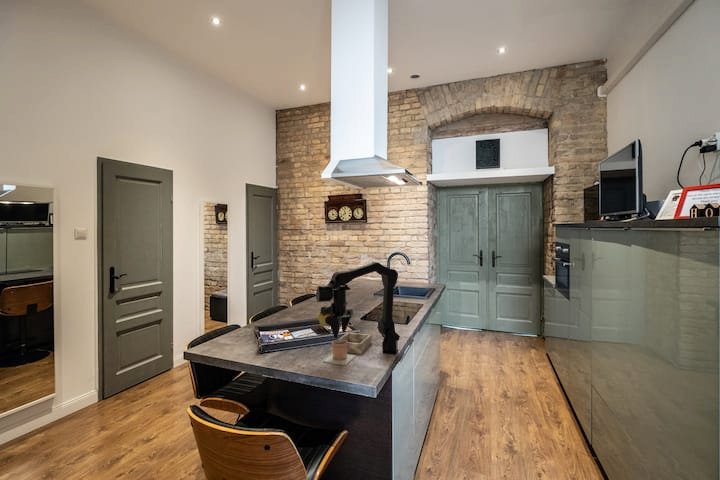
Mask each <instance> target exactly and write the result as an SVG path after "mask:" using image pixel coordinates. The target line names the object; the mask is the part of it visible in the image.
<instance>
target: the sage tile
mask: <svg viewBox="0 0 720 480" xmlns="http://www.w3.org/2000/svg"><path fill="white" fill-rule="evenodd" d="M355 358H356V354H349V353H347V359H345V360H340V361H338V360H334V359H333V353H331V355H329V356H328V357H326V358H325V359H324V360H323V363H326V364H335V365H343V366H347V365H349V364H350V363H351V362H352V361H353V360H354V359H355Z"/></svg>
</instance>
